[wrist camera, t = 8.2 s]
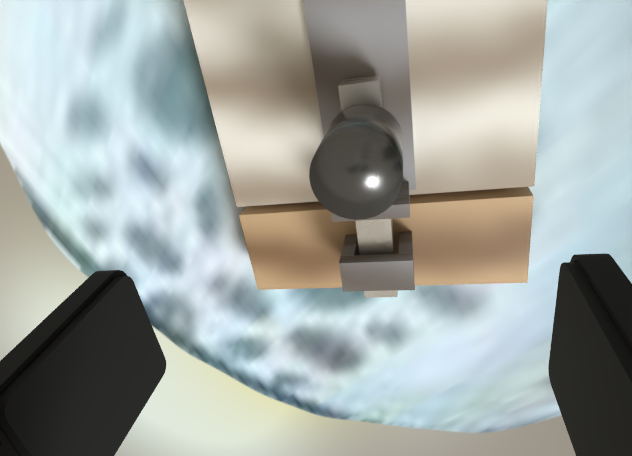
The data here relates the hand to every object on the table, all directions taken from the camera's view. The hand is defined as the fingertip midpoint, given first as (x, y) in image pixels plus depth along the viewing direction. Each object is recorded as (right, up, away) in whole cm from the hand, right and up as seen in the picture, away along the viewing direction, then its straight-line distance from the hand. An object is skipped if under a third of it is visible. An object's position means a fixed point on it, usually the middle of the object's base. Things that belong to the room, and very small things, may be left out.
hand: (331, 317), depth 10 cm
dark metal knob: (+3, +4, +16) cm, 17 cm away
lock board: (+3, +9, +18) cm, 20 cm away
